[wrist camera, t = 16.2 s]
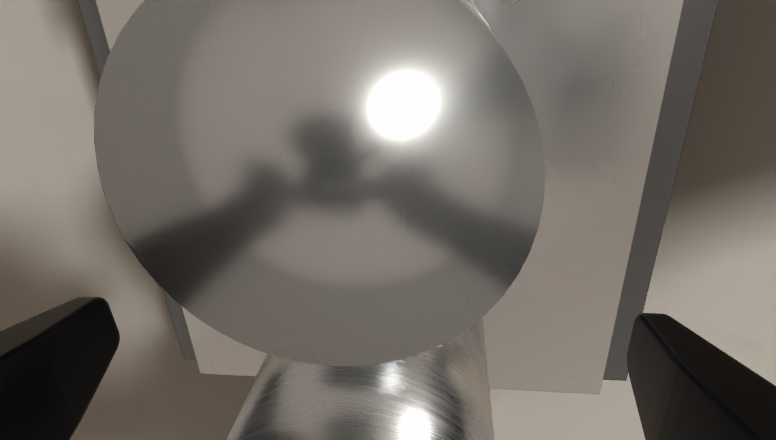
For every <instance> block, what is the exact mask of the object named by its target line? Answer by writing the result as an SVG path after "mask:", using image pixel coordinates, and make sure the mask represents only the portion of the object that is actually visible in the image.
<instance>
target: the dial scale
mask: <svg viewBox="0 0 776 440" xmlns="http://www.w3.org/2000/svg"><path fill="white" fill-rule="evenodd" d="M144 1H145V0H78V4H79V7H80V10H81V14H82V17H83V20H84V24H85V27H86V31H87V34H88V37H89V41H90V44H91V47H92V51H93V54H94V58H95V61H96V64H97V68H98V71H99V74H100V78H101V76H102V73H103V70H104V67H105V64H106V60H107V58H108V56H109V53H110V51H111V49H112V47H113V45H114V43H115V41H116V39H117V37H118V35H119V33H120V31H121V30H122V29H123V27H124V26H125V24H126V23H127V22H128V20H129V19H130V17H131V16H132V15H133V13H134V12H135V11H136V9H137V8H138V7H139V6H140V5H141V4H142V3H143V2H144ZM472 1H473V2H474V3H475V5H476V6H477V8H478V9H479V11H480V12H481V14H482V16H483V17H484V19H485V20H486V22H487V23H488V25H489V27H490V28H491V30H492V31H493V33H494V34H495V36H496V37H497V39H498V41H499V42H500V44H501V45H502V47H503V48H504V50H505V52H506V53H507V55H508V57H509V58H510V60H511V62H512V64H513V65H514V67H515V69H516V70H517V72H518V74H519V75H520V77H521V79H522V81H523V83H524V86H525V88H526V91H527V93H528V95H529V98H530V100H531V103H532V105H533V107H534V110H535V114H536V118H537V122H538V126H539V130H540V134H541V137H542V143H543V152H544V162H545V191H544V203H543V208H542V213H541V218H540V223H539V228H538V231H537V234H536V236H535V239H534V242H533V245H532V248H531V251H530V253H529V255H528V257H527V259H526V261H525V263H524V265H523V267H522V268H521V270H520V272H519V274H518V276H517V277H516V279H515V280H514V281H513V283H512V284H511V286H510V287H509V288H508V290H507V291H506V293H505V294H504V295H503V297H502V298H501V299H500V300H499V301H498V302H497V303H496V304H495V305H494V306H493V307H492V308H491V309H490V310H489V311H488V312H487V313H486V314H485V315H484V316H483V324H484V335H485V345H486V356H487V367H488V377H489V388H490V389H506V390H525V391H544V392H563V393H582V394H600V390H601V385H602V381H603V380H623V381H626V379H627V375H628V368H627V359H626V358H627V350H628V346H629V341H630V337H631V332H632V328H633V323H634V320H635V318H636V316H637V315H639V314H640V313H643V309H644V305H645V301H646V297H647V292H648V288H649V284H650V280H651V276H652V272H653V268H654V264H655V259H656V255H657V251H658V247H659V243H660V239H661V235H662V231H663V226H664V222H665V218H666V214H667V210H668V206H669V202H670V198H671V193H672V189H673V185H674V181H675V177H676V173H677V169H678V165H679V160H680V156H681V152H682V148H683V144H684V140H685V136H686V132H687V127H688V123H689V119H690V115H691V111H692V107H693V103H694V99H695V94H696V90H697V86H698V82H699V78H700V74H701V70H702V66H703V61H704V57H705V53H706V49H707V45H708V41H709V37H710V32H711V28H712V24H713V20H714V16H715V12H716V8H717V4H718V0H472ZM163 291H164V294H165V297H166V301H167V304H168V307H169V311H170V314H171V318H172V321H173V324H174V328H175V331H176V334H177V338H178V341H179V345H180V348H181V351H182V355H183V358H184V359H197V363H198V366H199V370H200V373H201V374H221V375H240V376H256V375H257V373H258V371H259V369H260V367H261V365H262V363H263V360H264V358H265V356H266V354H267V353H264V352H261V351H258V350H256V349H253V348H251V347H248V346H246V345H244V344H241V343H239V342H237V341H235V340H233V339H231V338H229V337H227V336H225V335H223V334H222V333H220V332H218V331H216V330H215V329H213V328H211V327H210V326H208V325H207V324H205V323H204V322H202V321H201V320H199V319H198V318H196V317H195V316H194V315H192V314H191V313H190V312H189V311H187V310H186V309H185V308H184V307H182V306H181V305H180V304H179V303H177V302H176V301H175V300H174V299H173V298H172V297H171V296H170V295H169V294H168V293H167V292H166V291H165V290H164V289H163Z"/></svg>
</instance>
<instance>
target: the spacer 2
mask: <svg viewBox="0 0 776 440" xmlns="http://www.w3.org/2000/svg"><path fill="white" fill-rule="evenodd" d="M227 440H494V431H493V420H492V409H491V399H490V388H489V377H488V367H487V356H486V345H485V335H484V324H483V317H482V318H480V319H479V320H478V321H477V322H475V323H474V324H473V325H472V326H470V327H469V328H468V329H467V330H465V331H463V332H462V333H460V334H458V335H457V336H455V337H454V338H452V339H450V340H449V341H447V342H445V343H443V344H441V345H439V346H436V347H434V348H432V349H430V350H428V351H426V352H423V353H420V354H417V355H414V356H411V357H408V358H405V359H401V360H396V361H391V362H386V363H382V364H374V365H364V366H326V365H316V364H307V363H302V362H297V361H292V360H287V359H283V358H280V357H277V356H273V355H270V354H266V356H265V358H264V360H263V363H262V365H261V367H260V369H259V371H258V373H257V375H256V377H255V380H254V382H253V384H252V386H251V388H250V390H249V392H248V395H247V397H246V399H245V401H244V403H243V405H242V407H241V410H240V412H239V414H238V416H237V418H236V420H235V422H234V425H233V427H232V429H231V431H230V433H229V435H228V437H227Z"/></svg>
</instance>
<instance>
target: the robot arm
mask: <svg viewBox="0 0 776 440" xmlns="http://www.w3.org/2000/svg"><path fill="white" fill-rule="evenodd" d="M119 339H120V336H119V331H118V328H117V326H116V323H115V320H114V318H113V315H112V312H111V310H110V307H109V305H108V303H107V301H106V300H105V299H103V298H100V297H78V298H76V299H73V300H71V301H69V302H66V303H64V304H62V305H60V306H57V307H55V308H53V309H50V310H48V311H46V312H44V313H41V314H39V315H37V316H34V317H32V318H30V319H28V320H25V321H23V322H21V323H18V324H16V325H14V326H12V327H9V328H7V329H5V330H2V331H0V440H70V438H71V437H72V435H73V433H74V432H75V430H76V428H77V427H78V425H79V423H80V421H81V419H82V417H83V415H84V414H85V412H86V410H87V408H88V406H89V404H90V402H91V400H92V398H93V396H94V394H95V392H96V390H97V388H98V386H99V384H100V382H101V380H102V378H103V376H104V374H105V372H106V370H107V368H108V366H109V364H110V362H111V360H112V358H113V356H114V354H115V352H116V350H117V348H118V345H119ZM626 359H627V368H628V373H629V377H630V380H631V384H632V388H633V392H634V396H635V400H636V404H637V408H638V412H639V416H640V420H641V424H642V428H643V431H644V435H645V439H646V440H776V386H775V385H773V384H772V383H770V382H769V381H767V380H766V379H764V378H763V377H761V376H760V375H758V374H757V373H755V372H753V371H752V370H750V369H749V368H747V367H746V366H744V365H743V364H741V363H740V362H738V361H737V360H735V359H734V358H732V357H731V356H729V355H728V354H726V353H725V352H723V351H722V350H720V349H719V348H717V347H716V346H714V345H713V344H711V343H709V342H708V341H706V340H705V339H703V338H702V337H700V336H699V335H697V334H696V333H694V332H693V331H691V330H690V329H688V328H687V327H685V326H684V325H682V324H681V323H679V322H678V321H676V320H675V319H673V318H672V317H670V316H668V315H666V314H654V313H640V314H639V315H637V316H636V318H635V320H634V323H633V328H632V332H631V337H630V341H629V346H628V350H627V358H626Z"/></svg>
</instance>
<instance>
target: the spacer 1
mask: <svg viewBox="0 0 776 440" xmlns="http://www.w3.org/2000/svg"><path fill="white" fill-rule="evenodd" d="M94 143H95V151H96V159H97V167H98V171H99V175H100V179H101V183H102V187H103V191H104V194H105V197H106V199H107V202H108V204H109V207H110V210H111V212H112V215H113V217H114V220H115V221H116V223H117V225H118V227H119V229H120V231H121V233H122V235H123V237H124V238H125V240H126V242H127V244H128V245H129V247H130V248H131V250H132V251H133V253H134V254H135V256H136V257H137V259H138V260H139V261H140V263H141V264H142V266H143V267H144V268H145V269H146V270H147V271H148V273H149V274H150V275H151V276H152V277H153V279H154V280H155V281H156V282H157V283H158V284H159V285H160V286H161V287H162V288H163V289H164V290H165V291H166V292H167V293H168V294H169V295H170V296H171V297H172V298H173V299H174V300H175V301H176V302H177V303H179V304H180V305H181V306H182V307H184V308H185V309H186V310H187V311H189V312H190V313H191V314H192V315H194V316H195V317H196V318H198V319H199V320H201V321H202V322H204V323H205V324H207V325H208V326H210V327H211V328H213V329H215V330H216V331H218V332H220V333H222V334H223V335H225V336H227V337H229V338H231V339H233V340H235V341H237V342H239V343H241V344H244V345H246V346H248V347H251V348H253V349H256V350H258V351H261V352H264V353H267V354H270V355H273V356H277V357H280V358H283V359H287V360H292V361H297V362H302V363H307V364H316V365H326V366H364V365H374V364H382V363H386V362H391V361H396V360H401V359H405V358H408V357H411V356H414V355H417V354H420V353H423V352H426V351H428V350H430V349H432V348H434V347H436V346H439V345H441V344H443V343H445V342H447V341H449V340H450V339H452V338H454V337H455V336H457V335H458V334H460V333H462V332H463V331H465V330H467V329H468V328H469V327H470V326H472V325H473V324H474V323H475V322H477V321H478V320H479V319H480V318H482V317H483V316H484V315H485V314H486V313H487V312H488V311H489V310H490V309H491V308H492V307H493V306H494V305H495V304H496V303H497V302H498V301H499V300H500V299H501V298H502V297H503V295H504V294H505V293H506V291H507V290H508V288H509V287H510V286H511V284H512V283H513V281H514V280H515V279H516V277H517V276H518V274H519V272H520V270H521V268H522V267H523V265H524V263H525V261H526V259H527V257H528V255H529V253H530V251H531V248H532V245H533V242H534V239H535V236H536V234H537V231H538V228H539V223H540V218H541V213H542V208H543V203H544V191H545V162H544V152H543V143H542V137H541V134H540V130H539V126H538V122H537V118H536V114H535V110H534V107H533V105H532V103H531V100H530V98H529V95H528V93H527V91H526V88H525V86H524V83H523V81H522V79H521V77H520V75H519V74H518V72H517V70H516V69H515V67H514V65H513V64H512V62H511V60H510V58H509V57H508V55H507V53H506V52H505V50H504V48H503V47H502V45H501V44H500V42H499V41H498V39H497V37H496V36H495V34H494V33H493V31H492V30H491V28H490V27H489V25H488V23H487V22H486V20H485V19H484V17H483V16H482V14H481V12H480V11H479V9H478V8H477V6H476V5H475V3H474V2H473V1H472V0H145V1H144V2H143V3H142V4H141V5H140V6H139V7H138V8H137V9H136V11H135V12H134V13H133V15H132V16H131V17H130V19H129V20H128V22H127V23H126V24H125V26H124V27H123V29H122V30H121V31H120V33H119V35H118V37H117V39H116V41H115V43H114V45H113V47H112V49H111V51H110V53H109V56H108V58H107V60H106V64H105V67H104V70H103V73H102V76H101V80H100V83H99V87H98V93H97V100H96V106H95V113H94Z"/></svg>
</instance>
